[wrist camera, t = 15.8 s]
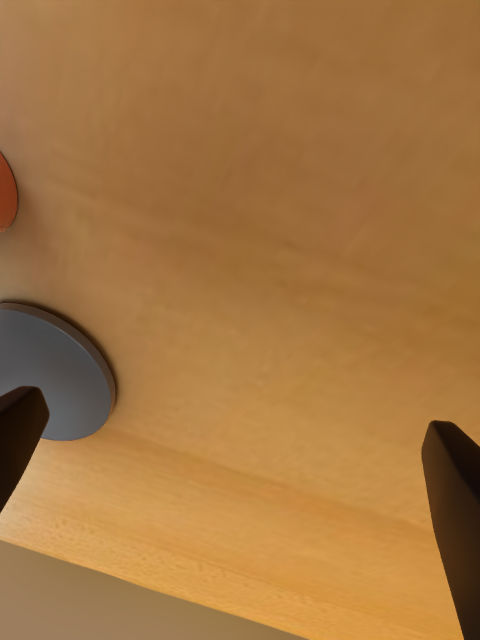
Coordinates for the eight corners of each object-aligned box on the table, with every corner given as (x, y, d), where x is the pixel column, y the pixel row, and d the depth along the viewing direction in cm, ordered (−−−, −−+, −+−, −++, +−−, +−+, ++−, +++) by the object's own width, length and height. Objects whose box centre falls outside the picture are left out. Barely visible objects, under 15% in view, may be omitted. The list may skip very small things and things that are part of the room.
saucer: (98, 303, 23) (88, 313, 22) (131, 435, 28) (124, 448, 27) (-64, 295, 24) (-81, 304, 23) (-3, 421, 30) (-14, 433, 29)
